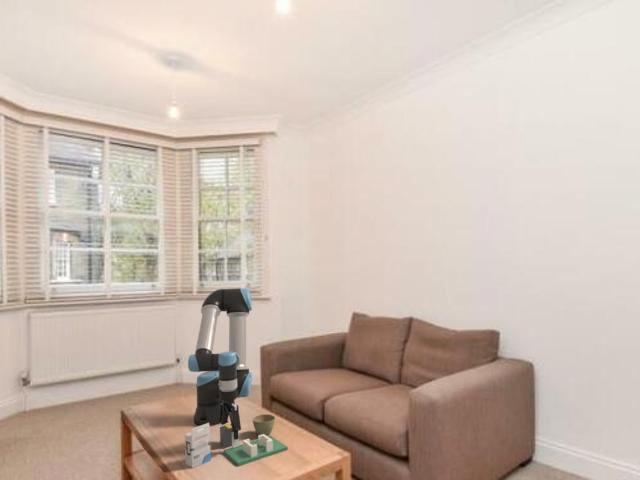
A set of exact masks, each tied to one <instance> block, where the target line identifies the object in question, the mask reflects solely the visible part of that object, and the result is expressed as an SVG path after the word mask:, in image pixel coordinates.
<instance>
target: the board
mask: <svg viewBox="0 0 640 480" xmlns="http://www.w3.org/2000/svg"><path fill="white" fill-rule="evenodd" d="M288 448H289V447H288V446H287V445H286V444H284V443H283V442H281V441H279V440H278V439H276V438H275V437H273V436H272V435H270V436H269V435H268V436H266V435H264V434H262V435H257V439H256V440H252V441H251V439H250V438H247V439H243V440H242V444H239V446H238V447H235V448H232V447H228V448H225V449H223V454H224V455H225V456H226V457H227V458H228V459H229V460H231V462H233V463H234V464H235V465H236V466H237V467H240V466H243V465H246V464H249V463H251V462H255V461H258V460H261V459H263V458H267V457H270V456H274V455H276V454H279V453H283V452H284V451H285V452H286V451H288Z"/></svg>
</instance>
